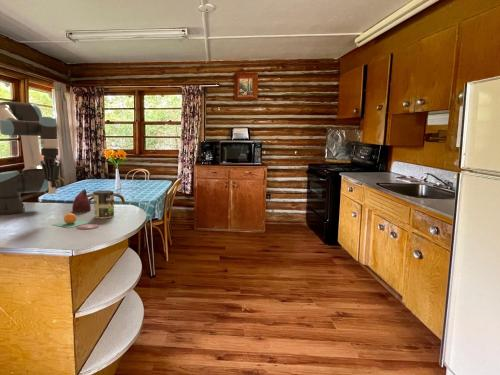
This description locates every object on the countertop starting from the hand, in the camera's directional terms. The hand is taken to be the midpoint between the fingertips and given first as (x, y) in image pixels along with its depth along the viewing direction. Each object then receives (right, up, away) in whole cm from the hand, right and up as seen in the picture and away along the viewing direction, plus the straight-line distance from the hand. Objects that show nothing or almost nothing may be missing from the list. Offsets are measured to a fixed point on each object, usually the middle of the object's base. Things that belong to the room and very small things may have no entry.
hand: (52, 193), depth 173 cm
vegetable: (+1, -11, +28) cm, 30 cm away
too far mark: (+23, -16, -9) cm, 30 cm away
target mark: (+12, -15, -4) cm, 20 cm away
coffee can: (+21, -13, +14) cm, 28 cm away
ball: (+12, -13, -4) cm, 18 cm away
